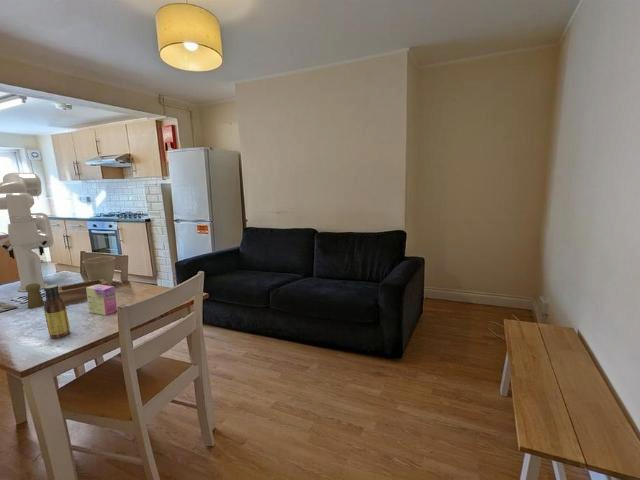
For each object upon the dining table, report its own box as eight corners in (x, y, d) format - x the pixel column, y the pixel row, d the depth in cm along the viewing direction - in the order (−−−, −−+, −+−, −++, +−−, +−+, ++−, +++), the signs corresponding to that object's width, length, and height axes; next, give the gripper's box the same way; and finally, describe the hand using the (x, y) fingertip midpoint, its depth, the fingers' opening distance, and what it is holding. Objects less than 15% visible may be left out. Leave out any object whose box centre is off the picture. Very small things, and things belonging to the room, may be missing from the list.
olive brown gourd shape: (34, 309, 148) (30, 286, 146) (24, 308, 149) (20, 285, 147) (47, 304, 153) (44, 282, 151) (38, 303, 155) (34, 281, 153)
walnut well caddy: (57, 300, 158) (55, 287, 157) (104, 290, 172) (102, 278, 171) (60, 306, 150) (58, 292, 148) (109, 296, 164) (108, 283, 162)
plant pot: (106, 281, 188) (103, 255, 186) (124, 284, 183) (121, 257, 180) (80, 289, 175) (76, 261, 172) (98, 292, 169) (94, 263, 167)
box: (117, 310, 144) (114, 286, 142) (105, 315, 139) (102, 290, 137) (101, 308, 148) (97, 283, 146) (89, 312, 142) (85, 287, 140)
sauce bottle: (57, 331, 124) (49, 283, 121) (74, 331, 125) (66, 282, 121) (44, 339, 118) (35, 288, 114) (62, 339, 118) (54, 288, 115)
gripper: (45, 218, 153) (50, 253, 156) (-6, 221, 141) (1, 259, 144) (46, 218, 148) (52, 254, 151) (-6, 222, 136) (1, 261, 139)
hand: (27, 256), depth 147 cm, fingers open, 9 cm apart
